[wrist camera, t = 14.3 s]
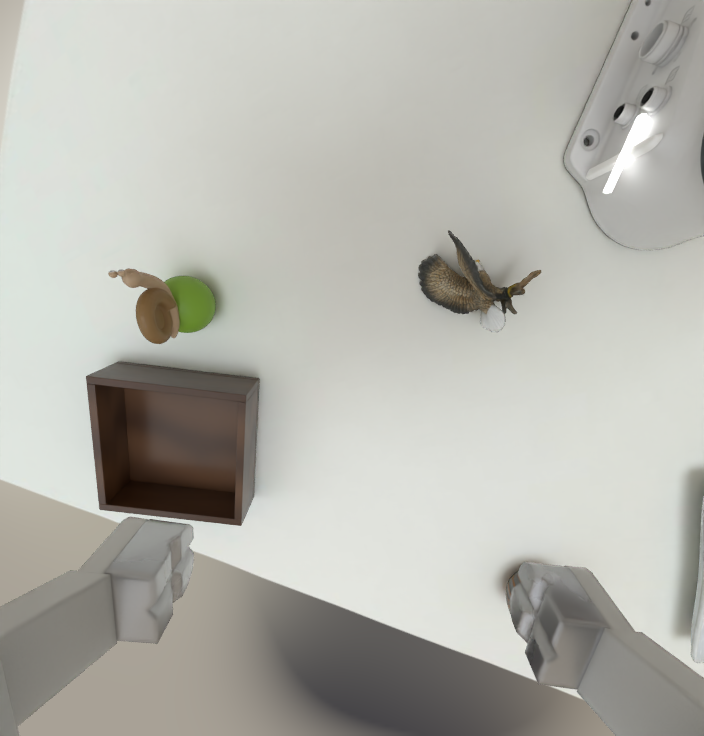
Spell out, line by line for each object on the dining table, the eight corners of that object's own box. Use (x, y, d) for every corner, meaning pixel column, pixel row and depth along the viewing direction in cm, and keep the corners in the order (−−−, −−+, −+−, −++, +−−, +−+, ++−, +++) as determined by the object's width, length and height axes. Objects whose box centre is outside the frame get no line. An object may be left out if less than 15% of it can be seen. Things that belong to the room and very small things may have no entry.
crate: (118, 361, 40) (85, 375, 36) (259, 378, 41) (246, 395, 36) (127, 482, 45) (99, 509, 40) (254, 496, 45) (241, 526, 41)
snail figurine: (215, 261, 37) (151, 265, 26) (228, 324, 39) (173, 353, 28) (163, 267, 37) (76, 273, 26) (178, 329, 39) (103, 360, 28)
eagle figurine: (530, 244, 35) (448, 210, 33) (552, 294, 31) (459, 258, 28) (481, 300, 41) (408, 275, 38) (493, 349, 36) (412, 323, 34)
